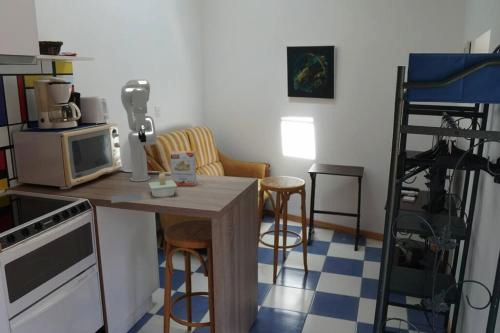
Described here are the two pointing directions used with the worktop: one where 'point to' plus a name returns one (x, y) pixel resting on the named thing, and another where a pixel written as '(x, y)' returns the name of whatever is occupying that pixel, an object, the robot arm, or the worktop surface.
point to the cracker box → (183, 168)
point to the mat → (126, 198)
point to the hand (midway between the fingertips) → (142, 140)
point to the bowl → (163, 192)
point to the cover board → (157, 187)
